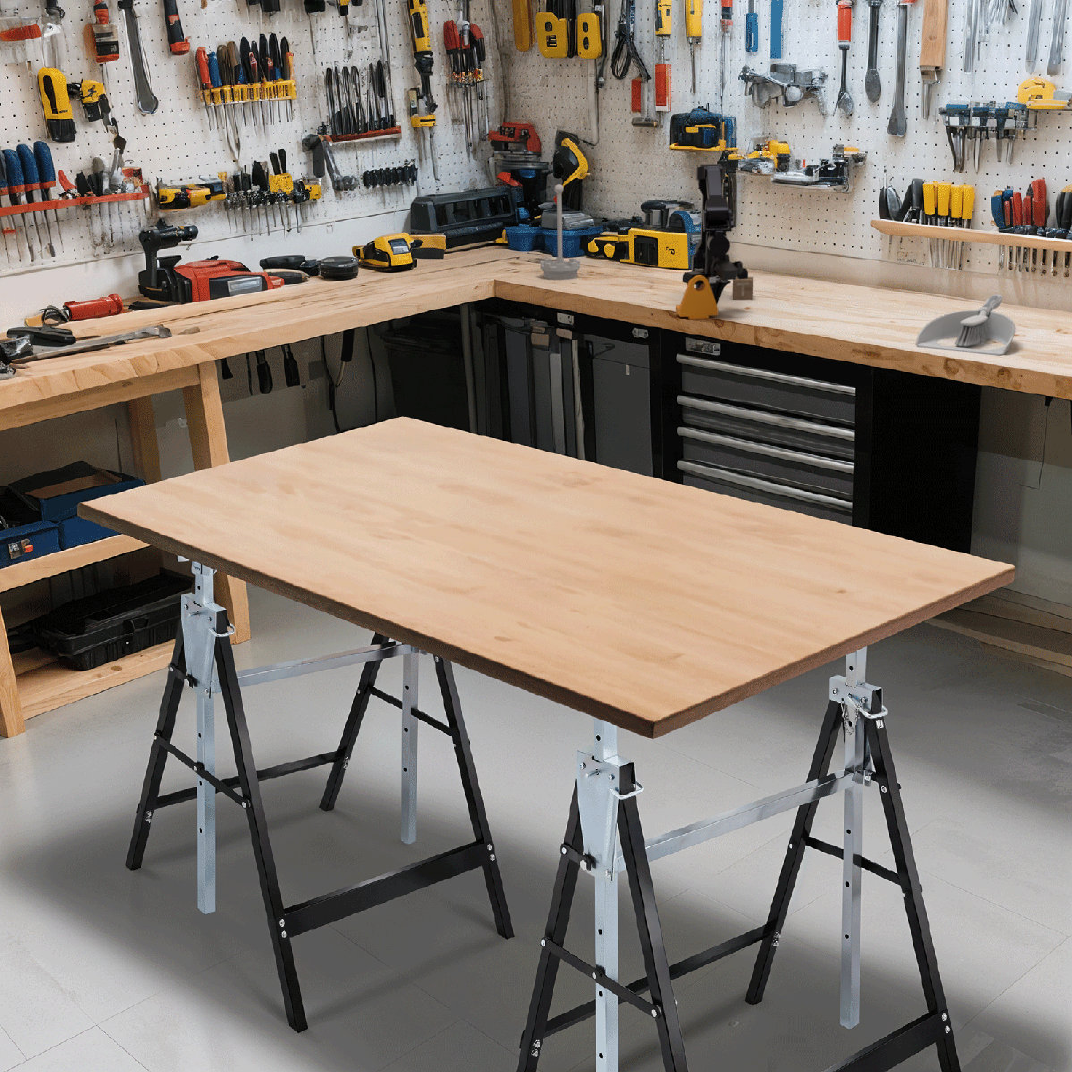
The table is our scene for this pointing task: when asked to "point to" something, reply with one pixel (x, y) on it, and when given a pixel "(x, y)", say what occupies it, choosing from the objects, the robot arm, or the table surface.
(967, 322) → the dustpan and brush
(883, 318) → the table surface
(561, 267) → the flag stand
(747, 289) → the letter block
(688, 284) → the bracket
